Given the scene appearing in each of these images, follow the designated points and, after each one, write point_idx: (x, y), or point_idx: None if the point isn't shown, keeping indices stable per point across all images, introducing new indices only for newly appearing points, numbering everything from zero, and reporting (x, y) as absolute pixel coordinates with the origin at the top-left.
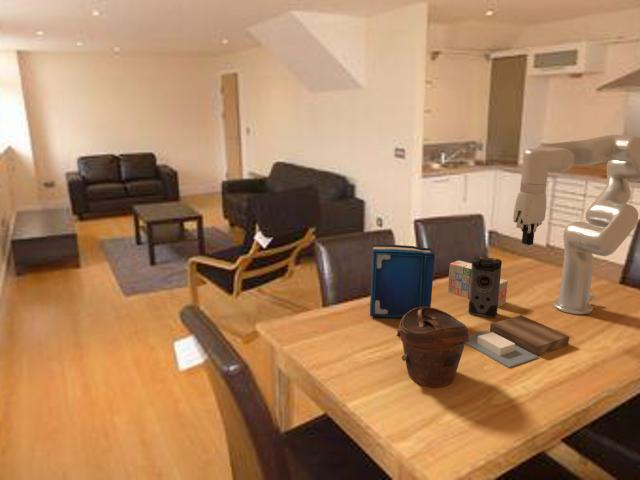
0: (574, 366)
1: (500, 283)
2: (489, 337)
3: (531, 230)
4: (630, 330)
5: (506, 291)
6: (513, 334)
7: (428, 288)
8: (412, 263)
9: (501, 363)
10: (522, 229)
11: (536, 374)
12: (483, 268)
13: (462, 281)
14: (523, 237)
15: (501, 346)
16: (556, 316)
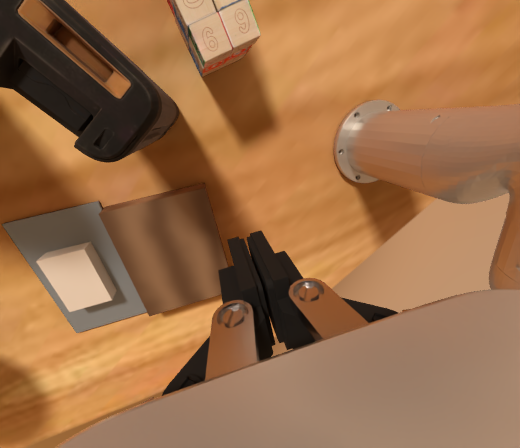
0: (193, 333)
1: (214, 55)
2: (64, 271)
3: (293, 348)
4: (367, 252)
5: (250, 47)
6: (128, 270)
7: None
8: None
9: (69, 320)
10: (195, 370)
11: (117, 347)
12: (44, 110)
13: None
14: (221, 290)
15: (75, 306)
16: (303, 172)
